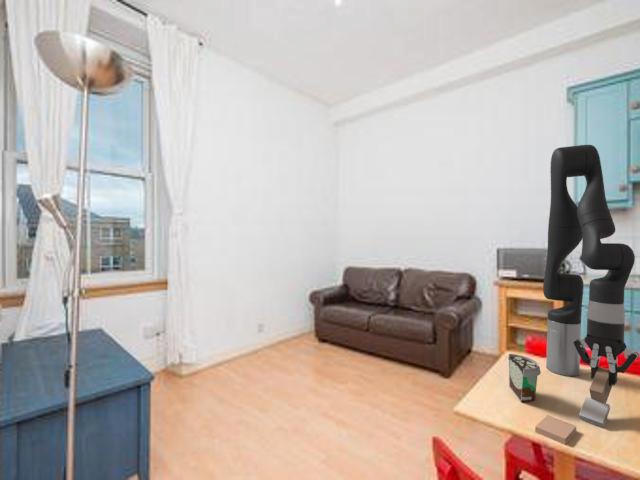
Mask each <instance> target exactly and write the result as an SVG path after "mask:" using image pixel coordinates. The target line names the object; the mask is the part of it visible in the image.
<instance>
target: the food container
mask: <svg viewBox="0 0 640 480" xmlns="http://www.w3.org/2000/svg"><path fill="white" fill-rule="evenodd" d="M507 359H508V379H509V380H508V381H509V384H508V385H509V388H510V391H512V393H513V394H514V395H515V397H516V398H517V399H518V400H519V402H520V403H527V404H528V403H532V402H534V401H535V400H536V393H537V392H536V391H537V385H538V384H537V383H538V376H540V375H541V374H542V373H541V372H542V371H541V367H540V366H539V363H538V362H537V361H536V360H534V359H532V358H529V357H527V356H524V355H520V354H514V353H509V354H508V358H507Z"/></svg>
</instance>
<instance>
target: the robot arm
mask: <svg viewBox="0 0 640 480" xmlns="http://www.w3.org/2000/svg"><path fill="white" fill-rule="evenodd" d="M603 174H604V173H603V169H602V163H601V157H600V154H599V151H598V148H597V147H596V146H595V145H593V144H580V145H579V144H578V145H571V146H562V147H557V148H556V149H554V150H553V152H552V155H551V157H550V206H549V216H548V227H547V250H546V251H547V254H546V261H545V269H544V277H543V285H542V290H543V295H544V297H545V298H546V299H547V300H550V301H557V302H568V303H567V304H565V305H564V306H562V307H558V308H557V307H556V308H553V309H550V310H547V311H548V312H547V323H546V324H547V331H546V335H547V336H546V359H545V361H546V365H545V367H546V369H547V370H548V371H550V372H553V373H554V374H558V375H560V376H561V375H563V376H566V377H567V376H569V377H576V376H579V375H580V370H581V369H580V368H581V367H580V365H581V361H582V362H583V363H584V364H587V365H589V366H590V377H591V379H592V380H593V379H594V376H595V374H596V372H597V370H598V367H599V365H600V359H601V357H604V358H606V360H607V364H608V370H610V371H609V374H608V375H609V386H612V387H614V386H615V385H616V384H617V383H618V373H623V374H624V373H625V372H627V370H629V368H630V367H631V366H632V365H633V363H634V362H635V361H636V360H637V358H638V357H639V356H640V353H638V352H637V351H633V350H632V349H629V348H627V345H626V343H625V325H626V324H625V320H626V319H625V317H626V315H625V314H626V311H625V305H624V304H625V287H626V285H627V283H628V280H629V277H630V275H631V272H632V270H633V267H634V265H635V259H636V257H635V253H634V250H633V249H632V247H630V246H629V245H627V244H626V243H621V242H620V243H619V242H617V243H615V242H612V243H611V242H610V243H605V242H603V243H602V241H601V240H603V239H607V238H609V237H611V236H613V235H614V234H615V233H616V226H615V223H614V221H613V217H612V214H611V212H610V209H609V206H608V202H607V197H606V191H605V182H604V175H603ZM574 177H584V178H585V180H586V185H585V186H586V187H585V190H584V192H583V194H582V196H581V198H580V200H579V202H578V204H576V202H575V201H574V200H573V198H572V196H571V195H570V193H569V190H568V185H567V183H568V182H567V180H568V179H567V178H574ZM581 242H582V244H581V246H582V247H581V260H582V263H583V264H584V265H585V266H586V267H587V268H588V269H590V270H596V271H607V272H606V274H605V275H604V276H602V277H598V278H594V279H592V280H590V282H589V287H588V288H589V291H588V292H589V293H588V304H587V312H586V320H587V321H586V336H585V337H584V338H583V339H581V338H582V337H581V334H582V312H583V311H582V310H583V309H582V307H583V298H584V280H583V277H582V276H581V275H579V274H576V273H573V274H572V273H558V271H559V268H560V267H561V265H562V263H563V262H564V261H565V259H566V258H567V257H568V256H569V255H570V254H571V253H572V252H573V251H574V250H575V249H576V248H577V247H578V246H579V244H580V243H581ZM586 346H587V347H588V348H589V350H590V351H591V356H590V355H589V353H588V351H587V349H586ZM622 353H624V358H625V359H626V360H624V362H623V363H622V364H621V365H618V361H619V360H618V356H620V355H621V354H622Z"/></svg>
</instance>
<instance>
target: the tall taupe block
mask: <svg viewBox="0 0 640 480" xmlns="http://www.w3.org/2000/svg"><path fill="white" fill-rule="evenodd" d="M609 371H610V370H609V368H608V369H607V368H605V367H604V368H603V367H600V366H598V370H597V372H596V374H595V376H594V379H592V381H591V385H590V386H589V389H588V390H589V393H590V397H588V396H586V397H585V399H584V401H583V402H582V406H581V409H580V412H579V413H578V418H579V420H582V421H585V422H588V423H590V424H593V425H596V426H598V427H601V428H604V427H605V425H606V422H607V419H608V416H609V413H610V410H611V406H610V403H607V402H608V398H609V396H610V393H611V390H612V388H613V386H609V375H608V374H609Z"/></svg>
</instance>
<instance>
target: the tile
mask: <svg viewBox="0 0 640 480" xmlns="http://www.w3.org/2000/svg"><path fill="white" fill-rule="evenodd" d="M534 431H535V433H536V434H539V435H541V436H543V437H546V438H548V439H551V440H553V441H555V442H558V443H560V444H562V445H564V446H565V445H566V444H567V443H568V442H569V440H571V438H572V437H574V435H575V433H576V432H577V425H575V424H572V423H569V422H567V421H565V420H561V419H559V418H556V417H554V416H551V415H549V414H547V415H546V416H545V417H544V418H542V420H540V421H539V422H538V423H537V424H536V425H535V429H534Z"/></svg>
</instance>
